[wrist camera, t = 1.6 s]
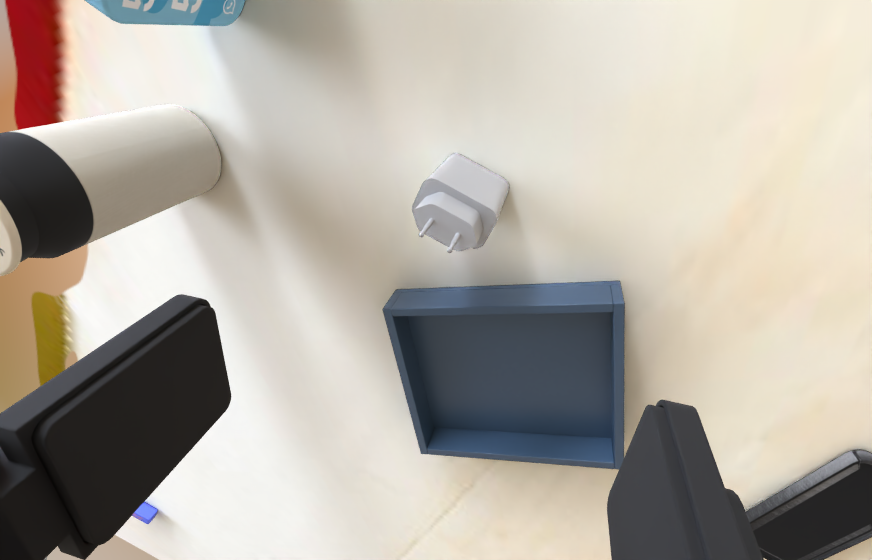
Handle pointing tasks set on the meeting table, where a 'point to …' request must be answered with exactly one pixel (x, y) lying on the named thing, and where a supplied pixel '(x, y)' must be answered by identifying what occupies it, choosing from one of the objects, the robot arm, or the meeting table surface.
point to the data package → (171, 11)
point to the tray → (514, 370)
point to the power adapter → (459, 203)
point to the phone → (818, 512)
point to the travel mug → (98, 177)
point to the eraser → (145, 513)
